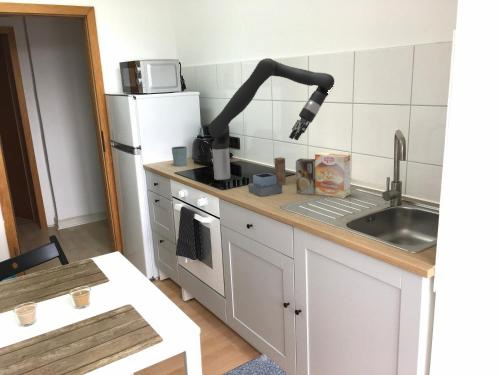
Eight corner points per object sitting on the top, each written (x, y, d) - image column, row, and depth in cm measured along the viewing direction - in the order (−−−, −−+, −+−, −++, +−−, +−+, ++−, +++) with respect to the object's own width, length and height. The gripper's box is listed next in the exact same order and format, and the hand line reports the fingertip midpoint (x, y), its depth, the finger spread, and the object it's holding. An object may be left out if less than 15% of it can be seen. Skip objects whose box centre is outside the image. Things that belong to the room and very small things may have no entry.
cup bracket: (248, 191, 212) (247, 175, 210) (269, 187, 218) (268, 171, 215) (260, 197, 202) (260, 179, 200) (282, 192, 207) (281, 175, 205)
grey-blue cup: (175, 163, 291) (173, 146, 288) (189, 163, 290) (188, 145, 287) (171, 166, 281) (169, 148, 278) (186, 166, 280) (184, 148, 277)
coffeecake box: (314, 194, 202) (314, 153, 197) (321, 190, 208) (321, 151, 203) (344, 198, 193) (344, 156, 188) (350, 194, 199) (351, 153, 194)
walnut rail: (275, 184, 224) (274, 158, 220) (281, 183, 226) (280, 157, 222) (279, 185, 220) (278, 159, 217) (285, 184, 222) (285, 158, 219)
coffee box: (318, 191, 206) (318, 159, 202) (314, 195, 201) (313, 161, 197) (300, 190, 211) (300, 158, 207) (295, 193, 205) (295, 160, 201)
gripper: (299, 107, 220) (283, 134, 221) (308, 107, 206) (290, 135, 207) (311, 115, 222) (294, 141, 223) (320, 115, 208) (303, 143, 209)
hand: (292, 138), depth 215 cm, fingers open, 8 cm apart
